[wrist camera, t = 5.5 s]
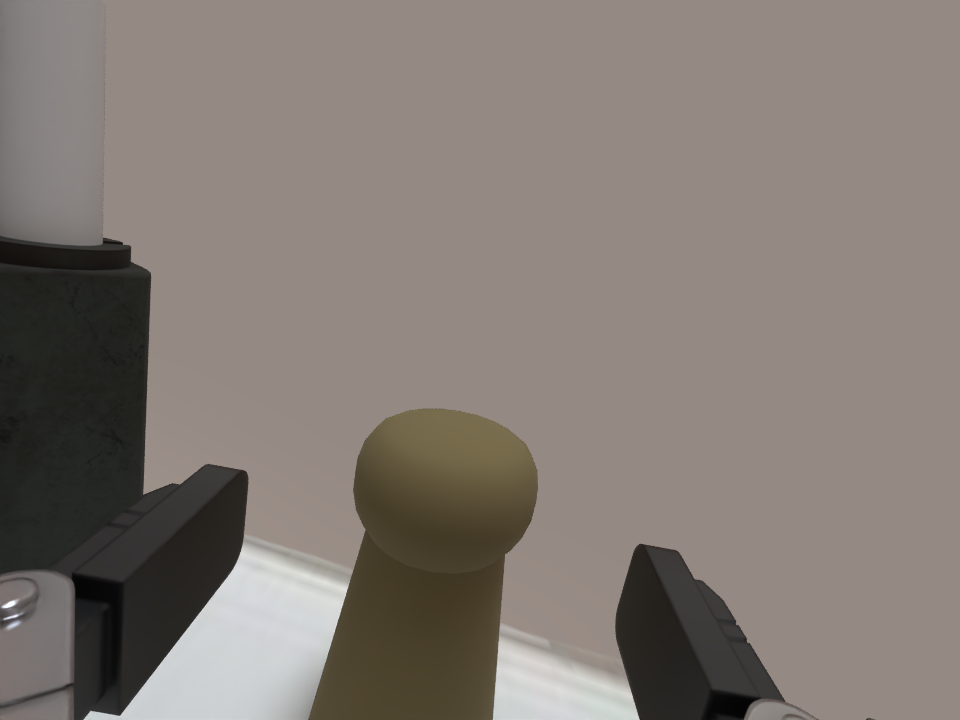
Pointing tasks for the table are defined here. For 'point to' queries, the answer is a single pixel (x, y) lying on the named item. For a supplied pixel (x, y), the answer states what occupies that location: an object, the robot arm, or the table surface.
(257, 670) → the table surface
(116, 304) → the candle
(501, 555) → the pepper shaker
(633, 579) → the robot arm
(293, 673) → the table surface
